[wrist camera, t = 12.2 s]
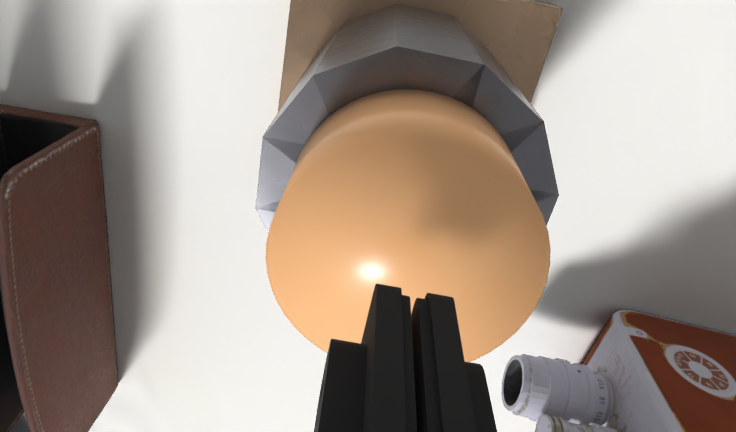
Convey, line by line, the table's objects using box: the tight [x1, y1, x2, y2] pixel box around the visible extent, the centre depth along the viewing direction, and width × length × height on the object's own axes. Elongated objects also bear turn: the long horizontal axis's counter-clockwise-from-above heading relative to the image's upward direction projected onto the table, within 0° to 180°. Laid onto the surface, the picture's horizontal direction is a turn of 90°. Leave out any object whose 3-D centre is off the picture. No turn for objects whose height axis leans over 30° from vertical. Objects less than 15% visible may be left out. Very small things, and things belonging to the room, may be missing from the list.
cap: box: [266, 89, 550, 362], centre depth 17 cm, size 7×7×7 cm
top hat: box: [256, 0, 562, 233], centre depth 23 cm, size 12×12×11 cm
